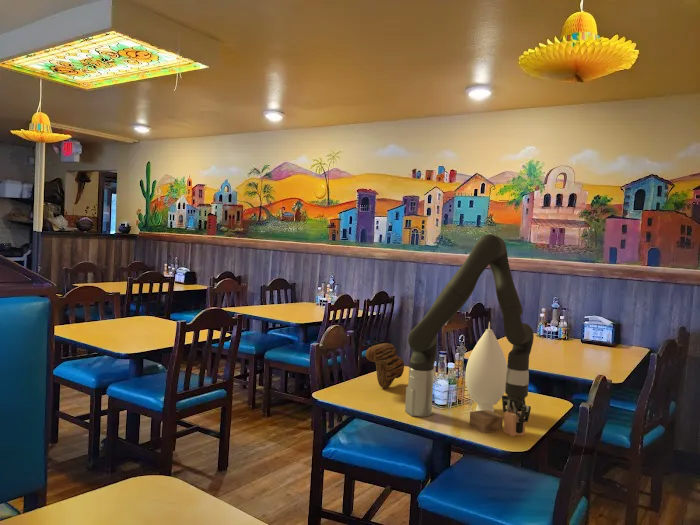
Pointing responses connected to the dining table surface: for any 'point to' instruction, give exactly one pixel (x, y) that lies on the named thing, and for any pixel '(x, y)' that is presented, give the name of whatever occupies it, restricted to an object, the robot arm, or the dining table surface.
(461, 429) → the dining table surface
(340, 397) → the dining table surface
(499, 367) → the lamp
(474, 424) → the walnut block
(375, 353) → the sculpture
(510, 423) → the light wooden cube
